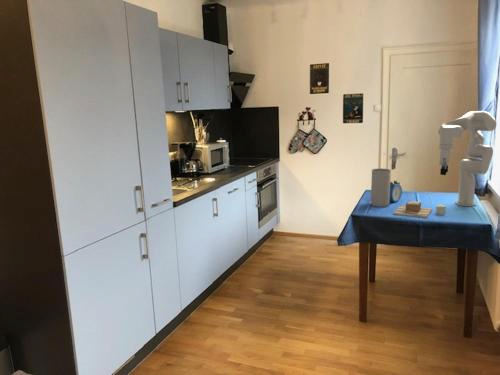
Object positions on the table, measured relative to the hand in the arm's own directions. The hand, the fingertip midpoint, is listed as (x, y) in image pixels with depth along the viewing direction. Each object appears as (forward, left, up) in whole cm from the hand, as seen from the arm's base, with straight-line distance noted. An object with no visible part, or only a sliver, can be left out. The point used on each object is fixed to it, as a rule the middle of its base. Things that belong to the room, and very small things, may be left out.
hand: (444, 173), depth 258 cm
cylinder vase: (-5, -40, -26) cm, 48 cm away
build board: (+5, -16, -26) cm, 31 cm away
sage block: (0, 0, -26) cm, 26 cm away
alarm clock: (-18, -34, -26) cm, 47 cm away
